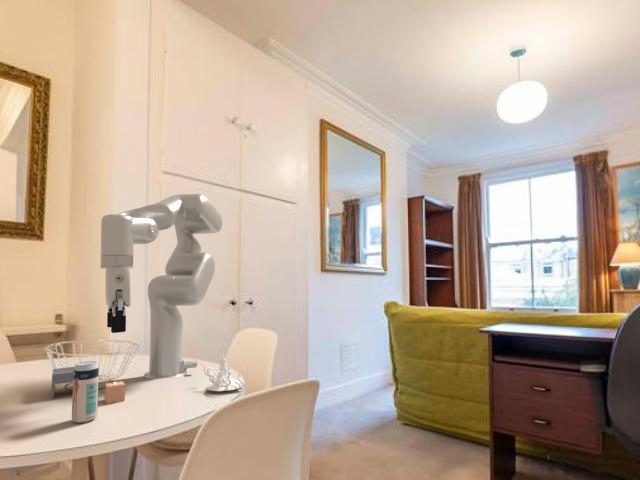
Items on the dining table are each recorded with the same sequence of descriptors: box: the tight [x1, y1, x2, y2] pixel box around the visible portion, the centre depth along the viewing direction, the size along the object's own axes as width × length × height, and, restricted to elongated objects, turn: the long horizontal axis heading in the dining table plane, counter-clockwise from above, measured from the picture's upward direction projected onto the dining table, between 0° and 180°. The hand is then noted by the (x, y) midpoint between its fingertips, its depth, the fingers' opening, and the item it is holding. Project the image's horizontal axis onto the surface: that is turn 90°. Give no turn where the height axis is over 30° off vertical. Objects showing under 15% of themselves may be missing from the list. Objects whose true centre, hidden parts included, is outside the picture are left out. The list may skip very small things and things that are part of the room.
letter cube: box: [104, 380, 126, 405], centre depth 101 cm, size 4×4×4 cm
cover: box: [50, 366, 75, 400], centre depth 107 cm, size 7×7×6 cm
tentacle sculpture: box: [200, 352, 245, 392], centre depth 113 cm, size 9×12×9 cm
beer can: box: [71, 360, 100, 424], centre depth 88 cm, size 5×5×12 cm
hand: (116, 329), depth 103 cm, fingers open, 9 cm apart
